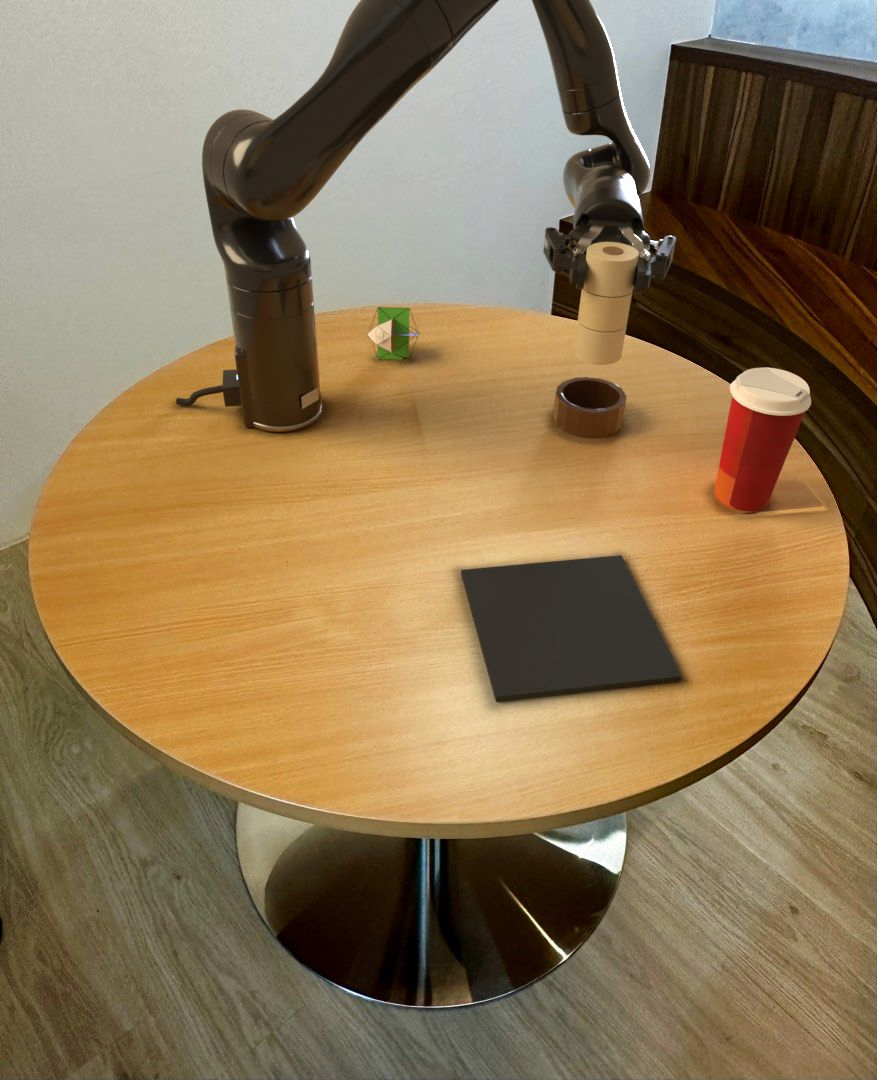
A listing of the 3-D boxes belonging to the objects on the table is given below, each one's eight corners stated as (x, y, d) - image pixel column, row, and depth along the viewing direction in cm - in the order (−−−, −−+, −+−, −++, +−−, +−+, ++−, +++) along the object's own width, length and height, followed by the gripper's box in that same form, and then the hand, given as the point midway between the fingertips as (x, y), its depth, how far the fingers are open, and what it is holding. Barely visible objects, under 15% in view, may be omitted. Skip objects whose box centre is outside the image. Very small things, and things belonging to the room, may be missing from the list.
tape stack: (581, 366, 91) (595, 261, 84) (567, 344, 94) (580, 241, 87) (627, 363, 91) (646, 259, 84) (612, 341, 95) (629, 239, 88)
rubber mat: (495, 701, 72) (496, 697, 72) (460, 574, 85) (461, 569, 84) (680, 681, 75) (682, 676, 74) (620, 559, 87) (621, 554, 86)
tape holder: (563, 444, 103) (566, 414, 100) (545, 407, 109) (548, 379, 107) (630, 439, 104) (635, 409, 101) (609, 403, 110) (613, 375, 108)
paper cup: (789, 498, 95) (828, 382, 87) (756, 530, 91) (793, 412, 82) (723, 469, 99) (754, 356, 91) (689, 498, 95) (717, 383, 86)
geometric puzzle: (371, 322, 122) (366, 292, 114) (421, 324, 122) (419, 294, 114) (368, 370, 120) (363, 344, 112) (419, 372, 120) (417, 345, 112)
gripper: (546, 181, 96) (539, 238, 83) (679, 190, 95) (694, 249, 82) (539, 249, 101) (532, 312, 88) (666, 258, 100) (678, 324, 87)
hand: (610, 281), depth 85 cm, fingers closed on tape stack, 5 cm apart
